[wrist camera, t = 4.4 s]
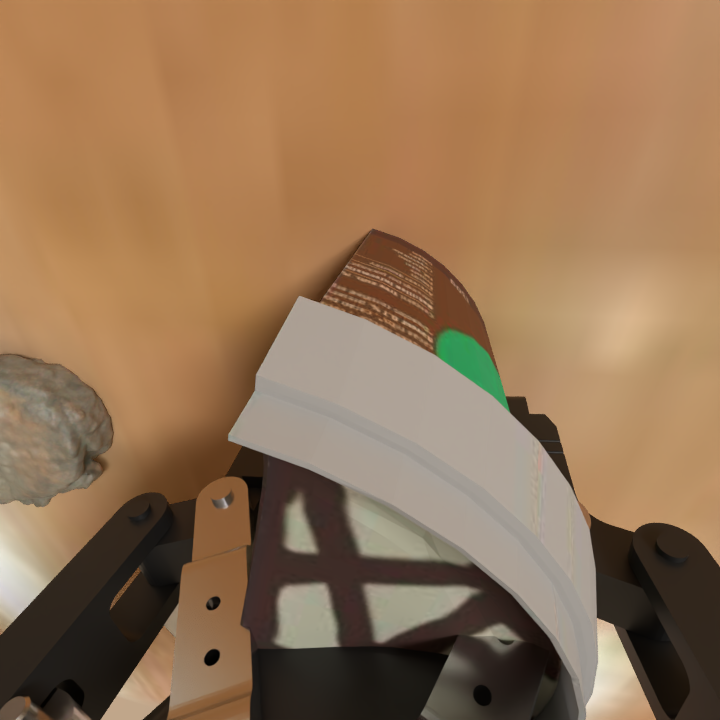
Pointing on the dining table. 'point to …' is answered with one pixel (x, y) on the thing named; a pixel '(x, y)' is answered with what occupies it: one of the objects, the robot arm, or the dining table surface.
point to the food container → (410, 484)
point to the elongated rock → (47, 431)
